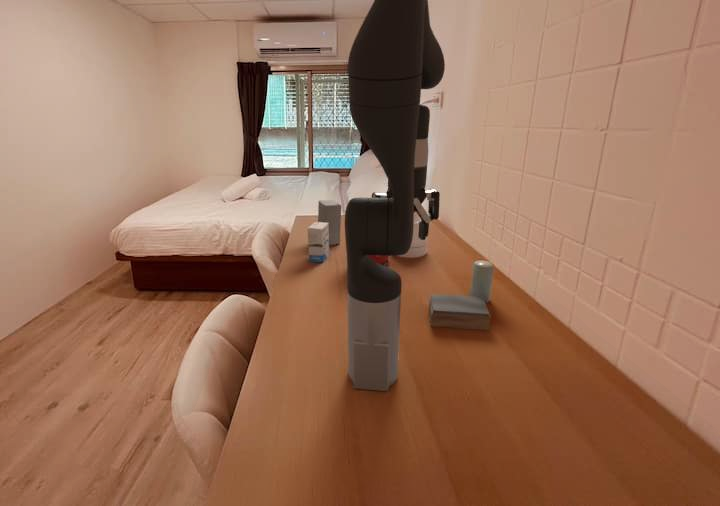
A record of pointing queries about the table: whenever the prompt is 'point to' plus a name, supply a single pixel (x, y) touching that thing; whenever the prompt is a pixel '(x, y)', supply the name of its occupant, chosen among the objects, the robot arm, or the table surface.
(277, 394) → the table surface
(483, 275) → the ceramic tumbler
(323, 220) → the skincare box
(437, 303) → the dark grey slab
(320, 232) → the ink box
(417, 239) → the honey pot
